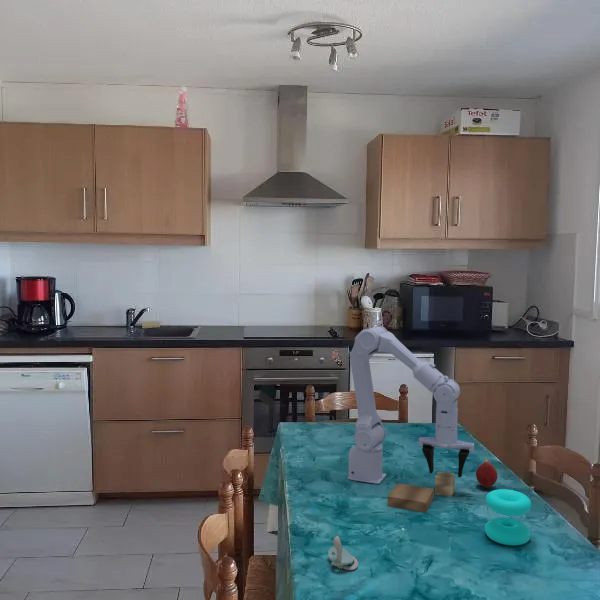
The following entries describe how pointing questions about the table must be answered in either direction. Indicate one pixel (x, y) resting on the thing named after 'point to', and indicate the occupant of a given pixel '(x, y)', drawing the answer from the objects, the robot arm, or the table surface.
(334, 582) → the table surface
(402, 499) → the walnut block
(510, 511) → the donuts
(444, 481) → the maple block
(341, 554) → the pacifier
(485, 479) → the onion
